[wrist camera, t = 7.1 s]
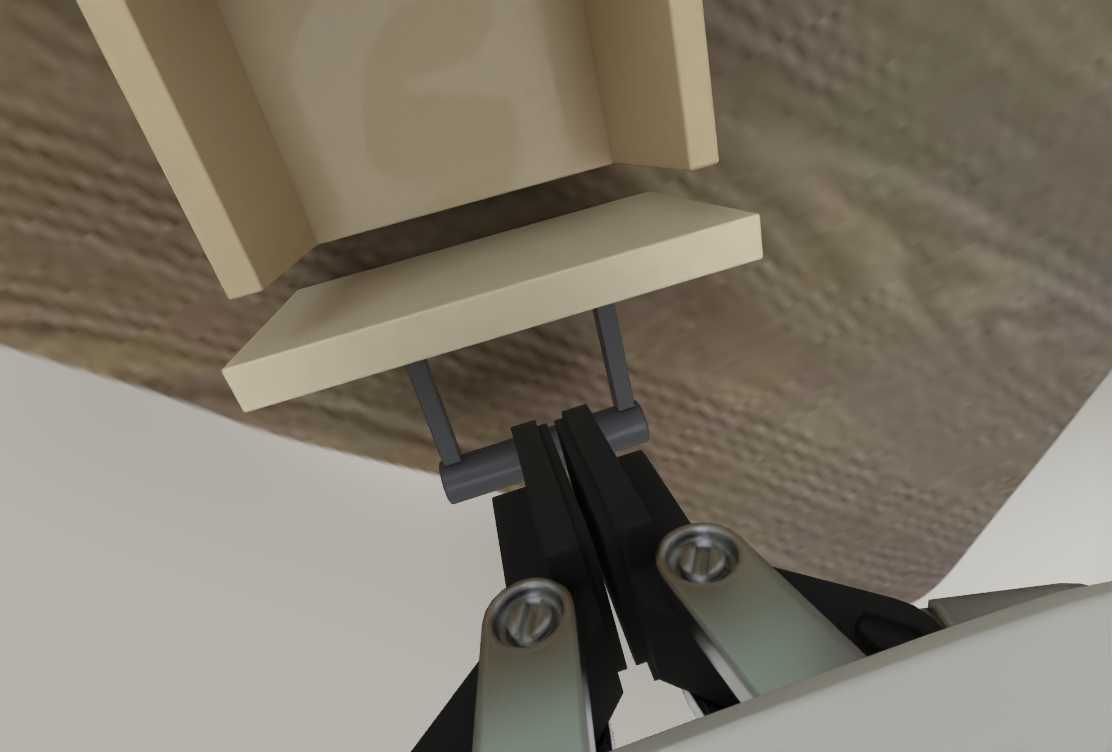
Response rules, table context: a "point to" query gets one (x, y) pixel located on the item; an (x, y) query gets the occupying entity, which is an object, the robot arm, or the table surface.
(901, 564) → the table surface
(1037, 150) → the table surface
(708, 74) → the drawer
